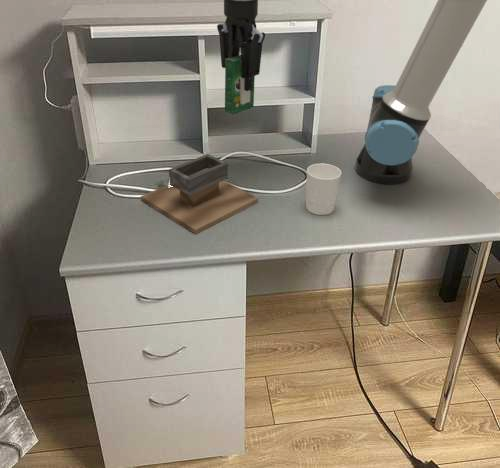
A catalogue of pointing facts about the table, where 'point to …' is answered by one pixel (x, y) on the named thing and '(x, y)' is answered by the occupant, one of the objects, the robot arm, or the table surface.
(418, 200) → the table surface
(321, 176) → the white cup
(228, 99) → the coffee box
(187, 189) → the display stand
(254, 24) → the robot arm
